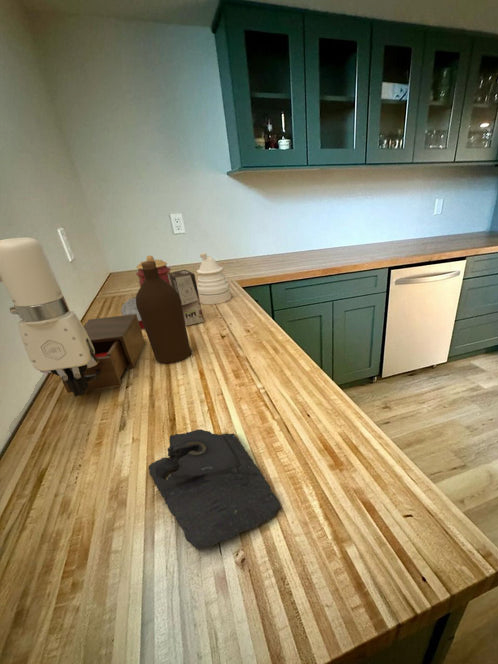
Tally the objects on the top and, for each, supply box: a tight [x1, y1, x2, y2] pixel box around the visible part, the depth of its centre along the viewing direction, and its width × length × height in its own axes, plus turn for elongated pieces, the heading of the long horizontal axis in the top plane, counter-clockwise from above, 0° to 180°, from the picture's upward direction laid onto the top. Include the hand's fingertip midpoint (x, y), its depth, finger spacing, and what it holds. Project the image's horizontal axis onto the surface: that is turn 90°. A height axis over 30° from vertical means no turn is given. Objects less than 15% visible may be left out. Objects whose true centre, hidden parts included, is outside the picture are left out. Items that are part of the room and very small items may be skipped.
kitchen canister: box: [135, 255, 172, 288], centre depth 134 cm, size 13×13×18 cm
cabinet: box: [83, 314, 146, 370], centre depth 91 cm, size 17×13×9 cm
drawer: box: [60, 340, 128, 394], centre depth 81 cm, size 20×11×7 cm, turn 12°
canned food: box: [120, 296, 145, 330], centre depth 114 cm, size 11×10×10 cm
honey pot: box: [196, 252, 232, 305], centre depth 131 cm, size 13×13×18 cm
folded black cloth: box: [148, 429, 283, 551], centre depth 51 cm, size 15×22×5 cm
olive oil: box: [135, 260, 192, 364], centre depth 86 cm, size 11×11×25 cm
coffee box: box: [167, 269, 205, 327], centre depth 112 cm, size 9×6×16 cm
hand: (81, 392), depth 72 cm, fingers closed
